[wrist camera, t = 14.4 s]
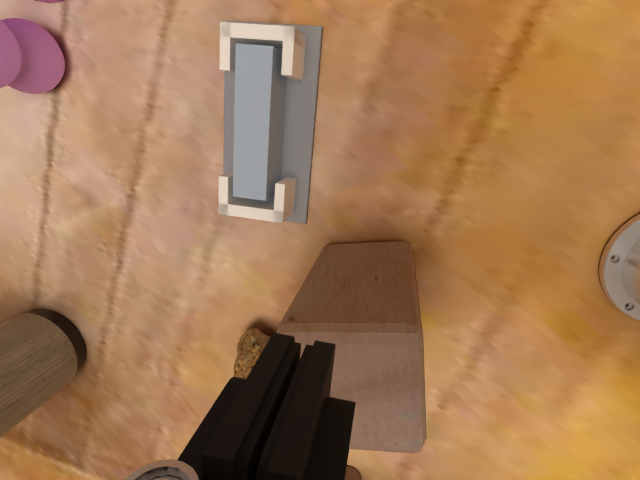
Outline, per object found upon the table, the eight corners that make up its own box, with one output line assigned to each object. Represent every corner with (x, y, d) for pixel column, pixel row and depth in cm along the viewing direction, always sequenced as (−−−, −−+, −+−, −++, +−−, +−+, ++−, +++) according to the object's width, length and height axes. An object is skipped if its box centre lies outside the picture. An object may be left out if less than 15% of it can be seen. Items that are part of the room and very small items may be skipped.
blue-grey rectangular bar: (255, 53, 39) (235, 43, 34) (288, 55, 38) (272, 46, 34) (250, 188, 43) (232, 196, 39) (280, 192, 43) (265, 200, 38)
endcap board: (322, 27, 38) (312, 14, 33) (306, 222, 44) (295, 234, 39) (227, 22, 39) (204, 8, 34) (225, 210, 45) (205, 221, 41)
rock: (319, 338, 54) (344, 387, 45) (288, 387, 55) (307, 443, 46) (245, 311, 49) (256, 360, 40) (213, 365, 50) (218, 424, 41)
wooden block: (323, 241, 44) (268, 330, 25) (411, 238, 42) (423, 331, 23) (331, 319, 47) (287, 450, 28) (414, 319, 45) (428, 461, 26)
